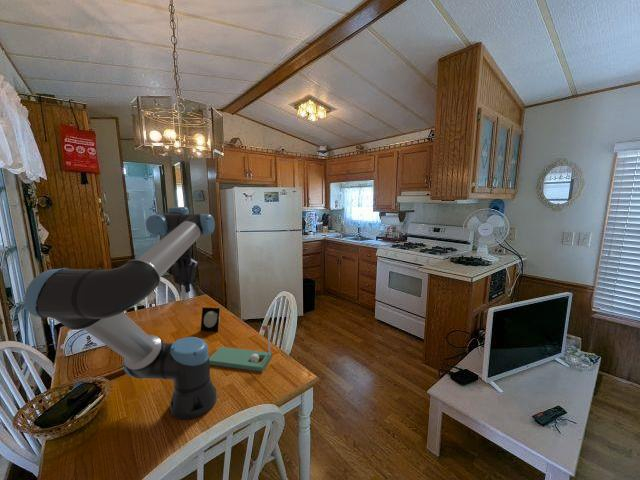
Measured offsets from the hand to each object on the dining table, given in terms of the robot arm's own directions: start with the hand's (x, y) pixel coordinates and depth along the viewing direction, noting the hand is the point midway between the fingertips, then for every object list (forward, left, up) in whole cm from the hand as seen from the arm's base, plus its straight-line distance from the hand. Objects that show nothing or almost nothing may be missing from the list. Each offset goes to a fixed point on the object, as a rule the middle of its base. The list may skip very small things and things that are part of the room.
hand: (185, 299), depth 116 cm
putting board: (+7, -20, -30) cm, 37 cm away
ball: (+7, -27, -28) cm, 40 cm away
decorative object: (+32, +10, -31) cm, 45 cm away
